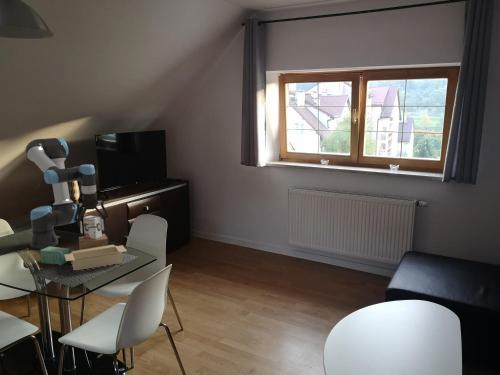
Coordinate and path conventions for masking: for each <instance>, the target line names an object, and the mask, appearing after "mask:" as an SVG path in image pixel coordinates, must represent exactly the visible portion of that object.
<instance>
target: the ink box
mask: <svg viewBox="0 0 500 375" xmlns="http://www.w3.org/2000/svg"><path fill="white" fill-rule="evenodd" d="M101 218H102V217H101V215H100V216H99V215H87V216H83V217H82V219H83V233H84V234H83V235H84V237H85V238H92V239H98V238H100V237H102V234H103V232H102V231H103V230H102V225H101Z"/></svg>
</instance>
